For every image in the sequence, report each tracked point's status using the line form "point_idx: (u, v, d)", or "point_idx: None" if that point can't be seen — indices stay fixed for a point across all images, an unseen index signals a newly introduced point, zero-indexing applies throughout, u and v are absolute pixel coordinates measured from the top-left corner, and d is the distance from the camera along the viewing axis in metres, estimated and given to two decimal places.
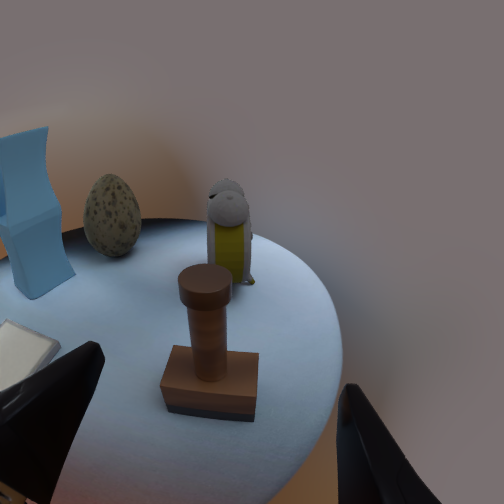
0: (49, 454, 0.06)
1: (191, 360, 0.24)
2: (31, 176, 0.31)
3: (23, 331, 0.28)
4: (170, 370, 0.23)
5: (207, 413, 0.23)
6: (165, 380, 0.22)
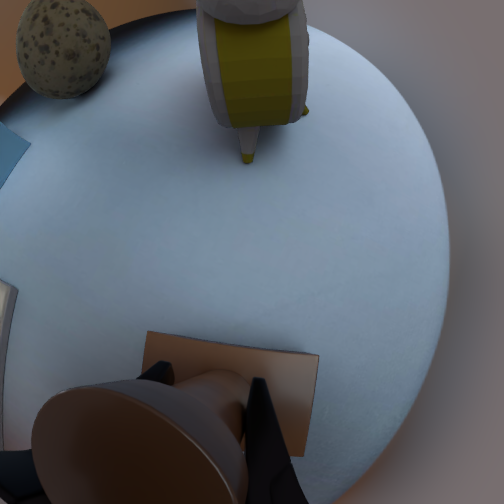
0: None
1: (183, 373, 0.12)
2: None
3: None
4: None
5: None
6: None
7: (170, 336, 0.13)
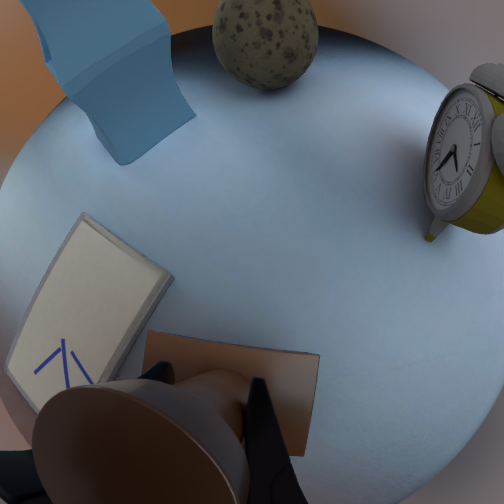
0: None
1: (184, 373, 0.12)
2: None
3: (110, 244, 0.23)
4: None
5: None
6: None
7: (171, 336, 0.13)
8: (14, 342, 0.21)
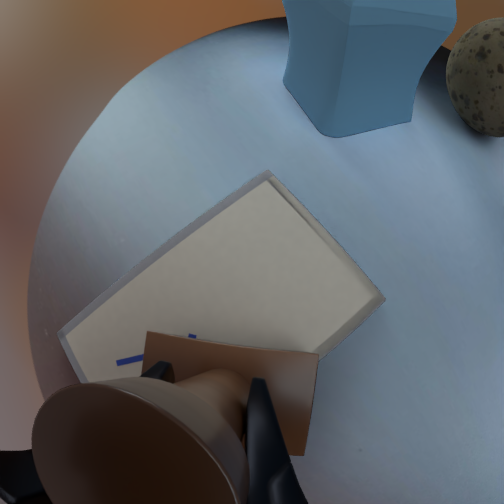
0: None
1: (183, 373, 0.12)
2: None
3: (310, 230, 0.19)
4: None
5: None
6: None
7: (170, 336, 0.13)
8: (90, 307, 0.18)
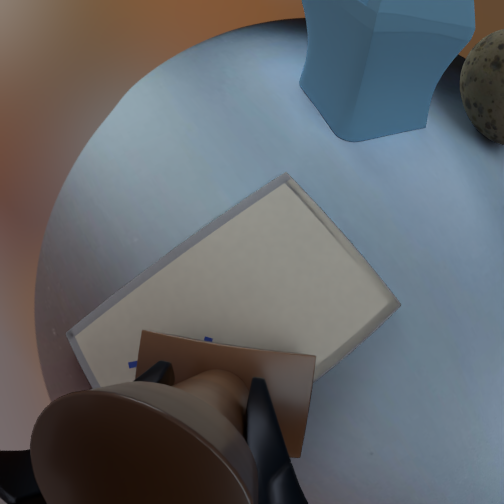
0: None
1: (178, 373, 0.12)
2: None
3: (328, 234, 0.18)
4: None
5: None
6: None
7: (165, 335, 0.12)
8: (102, 308, 0.18)
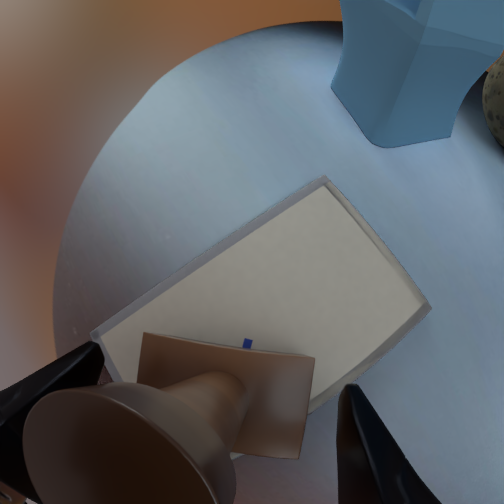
0: None
1: (179, 375, 0.12)
2: None
3: (366, 238, 0.18)
4: None
5: None
6: None
7: (166, 337, 0.13)
8: (132, 307, 0.18)
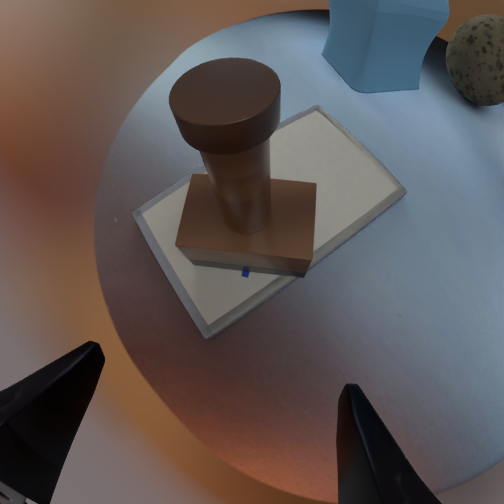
0: (49, 454, 0.06)
1: None
2: None
3: (350, 142, 0.24)
4: (188, 217, 0.17)
5: (243, 268, 0.20)
6: (182, 236, 0.17)
7: None
8: (172, 188, 0.23)
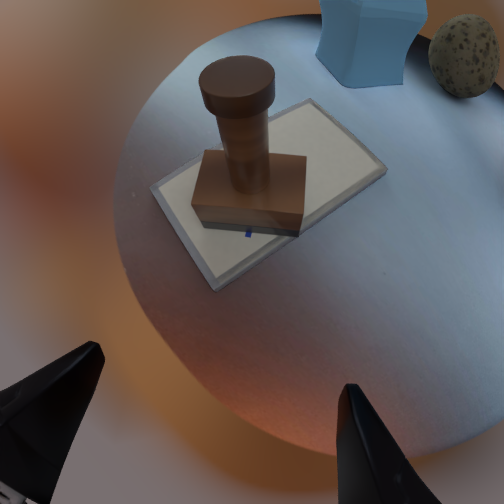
0: (49, 454, 0.06)
1: (226, 167, 0.21)
2: None
3: (337, 128, 0.27)
4: (202, 183, 0.21)
5: (246, 228, 0.23)
6: (197, 197, 0.20)
7: (219, 150, 0.22)
8: (185, 166, 0.27)
